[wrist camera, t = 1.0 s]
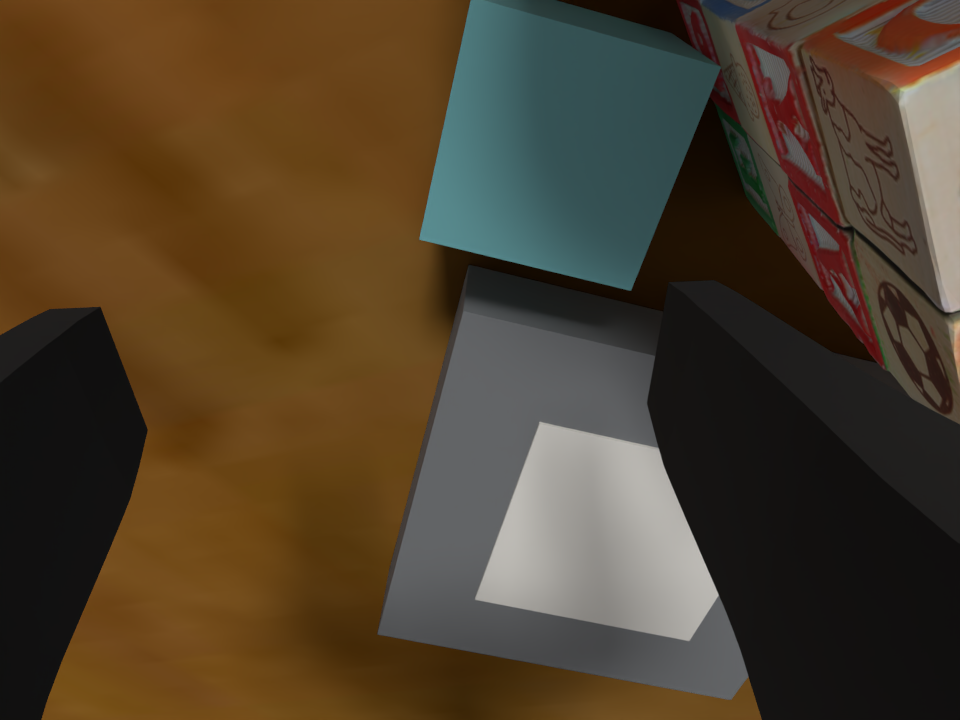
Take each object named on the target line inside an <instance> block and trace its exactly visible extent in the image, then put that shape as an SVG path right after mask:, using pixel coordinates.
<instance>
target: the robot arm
mask: <svg viewBox="0 0 960 720" xmlns="http://www.w3.org/2000/svg"><path fill="white" fill-rule="evenodd" d="M647 406H648V410H649V413H650V417H651V421H652V425H653V429H654V433H655V437H656V441H657V444H658V448H659V451H660V455H661V458H662V462H663V465H664V468H665V470H666V473H667V475H668V478H669V480H670V483H671V485H672V487H673V490H674V492H675V494H676V497H677V499H678V502H679V504H680V506H681V509H682V511H683V513H684V516H685V518H686V520H687V523H688V525H689V527H690V530H691V532H692V534H693V537H694V539H695V541H696V544H697V546H698V548H699V551H700V553H701V555H702V557H703V560H704V562H705V564H706V567H707V569H708V571H709V574H710V576H711V578H712V581H713V583H714V585H715V588H716V590H717V592H718V595H719V597H720V599H721V602H722V604H723V606H724V608H725V611H726V613H727V616H728V619H729V621H730V624H731V626H732V629H733V632H734V634H735V637H736V640H737V642H738V645H739V648H740V651H741V654H742V657H743V660H744V663H745V667H746V670H747V673H748V676H749V679H750V683H751V686H752V689H753V692H754V695H755V699H756V702H757V705H758V708H759V711H760V715H761V718H762V720H960V424H958V423H956V422H954V421H952V420H951V419H949V418H947V417H945V416H943V415H941V414H939V413H937V412H935V411H933V410H931V409H930V408H928V407H926V406H924V405H922V404H921V403H919V402H917V401H915V400H913V399H912V398H910V397H908V396H906V395H904V394H903V393H901V392H899V391H897V390H895V389H894V388H892V387H890V386H888V385H886V384H885V383H883V382H881V381H879V380H878V379H876V378H874V377H873V376H871V375H869V374H868V373H866V372H864V371H862V370H861V369H859V368H857V367H856V366H854V365H852V364H851V363H849V362H847V361H846V360H844V359H842V358H841V357H839V356H838V355H836V354H834V353H833V352H831V351H829V350H828V349H826V348H825V347H823V346H821V345H820V344H818V343H817V342H815V341H813V340H812V339H810V338H809V337H807V336H806V335H804V334H802V333H801V332H799V331H798V330H796V329H795V328H793V327H791V326H790V325H788V324H787V323H785V322H784V321H782V320H780V319H779V318H777V317H776V316H774V315H773V314H771V313H769V312H768V311H766V310H765V309H763V308H762V307H760V306H758V305H757V304H755V303H754V302H752V301H750V300H749V299H747V298H745V297H744V296H742V295H741V294H739V293H737V292H735V291H734V290H732V289H730V288H728V287H727V286H725V285H723V284H721V283H719V282H717V281H715V280H709V281H686V282H668V288H667V293H666V299H665V305H664V310H663V316H662V321H661V327H660V332H659V338H658V343H657V349H656V355H655V360H654V366H653V371H652V377H651V382H650V388H649V393H648V399H647ZM146 435H147V427H146V424H145V422H144V419H143V417H142V414H141V411H140V409H139V406H138V404H137V401H136V398H135V396H134V393H133V391H132V388H131V385H130V383H129V380H128V378H127V375H126V372H125V370H124V367H123V365H122V362H121V359H120V357H119V354H118V352H117V349H116V346H115V344H114V341H113V339H112V336H111V333H110V331H109V328H108V326H107V323H106V320H105V318H104V315H103V313H102V310H101V307H90V308H67V309H49V310H47V311H45V312H43V313H41V314H39V315H37V316H35V317H33V318H31V319H29V320H27V321H25V322H23V323H21V324H20V325H18V326H16V327H14V328H12V329H11V330H9V331H7V332H5V333H4V334H2V335H0V720H41V718H42V715H43V712H44V709H45V705H46V702H47V699H48V696H49V694H50V691H51V688H52V686H53V683H54V680H55V678H56V675H57V672H58V670H59V667H60V664H61V662H62V659H63V657H64V655H65V652H66V650H67V648H68V645H69V643H70V640H71V638H72V636H73V633H74V631H75V629H76V626H77V624H78V622H79V619H80V617H81V615H82V612H83V610H84V608H85V605H86V603H87V601H88V598H89V596H90V594H91V591H92V589H93V587H94V584H95V582H96V580H97V577H98V575H99V573H100V570H101V568H102V566H103V563H104V561H105V559H106V556H107V554H108V552H109V549H110V547H111V544H112V542H113V540H114V537H115V535H116V532H117V530H118V527H119V525H120V523H121V520H122V518H123V515H124V513H125V510H126V508H127V505H128V503H129V500H130V498H131V494H132V490H133V487H134V483H135V480H136V476H137V472H138V469H139V465H140V460H141V456H142V452H143V447H144V443H145V439H146Z"/></svg>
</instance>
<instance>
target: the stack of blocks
mask: <svg viewBox="0 0 960 720" xmlns="http://www.w3.org/2000/svg"><path fill="white" fill-rule="evenodd" d="M676 1H677V4H678V7H679V10H680V12H681V15H682V18H683V21H684V24H685V27H686V30H687V33H688V35H689V38H690V41H691V44H692V47H693V48H694V49H696V50H697V51H699V52H700V53H702V54H703V55H704V56H706V57H707V58H709V59H710V60H712V61H713V62H715V63H716V64H718V65H719V66H721V69H720V71H719V74H718V76H717V79H716V81H715V84H714V86H713V89H712V91H711V94H710V97H711V99H712V100H713V101H714V103H715V106H716V109H717V112H718V115H719V118H720V121H721V123H722V126H723V129H724V132H725V135H726V138H727V141H728V144H729V147H730V150H731V153H732V156H733V159H734V162H735V165H736V168H737V170H738V173H739V176H740V179H741V182H742V185H743V188H744V192H745V195H746V197H747V198H748V200H749V201H750V203H751V204H752V206H753V207H754V208H755V209H756V210H757V212H758V213H759V214H760V215H761V217H762V218H763V219H764V220H765V221H766V222H767V223H768V224H769V226H770V227H771V228H772V230H773V231H774V232H775V233H776V234H777V235H778V236H779V237H781V239H782V240H783V241H784V243H785V244H786V245H787V246H788V248H789V249H790V250H791V252H792V253H793V254H794V256H795V257H796V258H797V260H798V261H799V262H800V263H801V265H802V266H803V267H804V269H805V270H806V271H807V272H808V274H809V275H810V276H811V277H812V279H813V280H814V281H815V282H816V284H817V285H818V286H819V288H820V289H822V290H823V291H824V293H825V295H826V297H827V300H828V301H829V302H830V304H831V305H832V306H833V308H834V309H835V310H836V312H837V313H838V314H839V316H840V317H841V318H842V319H843V320H844V321H845V322H846V323H847V324H848V325H849V326H850V328H851V329H852V331H853V332H854V334H855V335H856V337H857V338H858V339H859V340H860V341H861V342H862V343H864V345H865V346H866V348H867V350H868V351H869V353H870V355H871V356H872V357H873V358H874V359H875V360H876V361H877V363H878V364H879V365H880V366H881V367H882V368H883V369H884V370H887V371H889V372H891V374H892V375H893V376H894V377H895V378H896V380H897V381H898V382H899V383H900V385H901V386H902V387H903V388H904V390H905V391H906V392H907V393H908V395H909V396H910V397H911V398H912V399H913V400H915V401H917V402H919V403H921V404H922V405H924V406H926V407H928V408H930V409H931V410H933V411H935V412H937V413H939V414H941V415H943V416H945V417H947V418H949V419H951V420H952V421H954V422H956V423H958V424H960V0H676Z"/></svg>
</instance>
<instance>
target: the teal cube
mask: <svg viewBox="0 0 960 720" xmlns="http://www.w3.org/2000/svg"><path fill="white" fill-rule="evenodd" d="M720 69H721V66H719V65H718V64H716V63H715V62H713V61H712V60H710V59H709V58H707V57H706V56H704V55H703V54H702V53H700V52H699V51H697V50H696V49H694V48H693V47H691V46H690V45H688V44H687V43H685V42H684V41H682V40H681V39H680V38H678V37H677V36H675V35H674V34H672V33H670V32H666V31H663V30H659V29H656V28H652V27H649V26H645V25H642V24H638V23H635V22H631V21H628V20H624V19H620V18H617V17H613V16H610V15H606V14H603V13H599V12H596V11H592V10H589V9H585V8H582V7H578V6H575V5H571V4H567V3H564V2H560V1H557V0H471V1H470V6H469V10H468V15H467V20H466V24H465V29H464V34H463V38H462V43H461V48H460V52H459V57H458V62H457V66H456V71H455V76H454V80H453V85H452V90H451V94H450V99H449V104H448V108H447V113H446V118H445V122H444V127H443V131H442V136H441V141H440V145H439V150H438V155H437V159H436V164H435V169H434V173H433V178H432V183H431V187H430V192H429V197H428V201H427V206H426V211H425V215H424V220H423V225H422V229H421V234H420V239H419V240H423V241H428V242H432V243H436V244H440V245H444V246H448V247H452V248H456V249H460V250H465V251H469V252H473V253H477V254H481V255H485V256H489V257H493V258H498V259H502V260H506V261H510V262H514V263H518V264H522V265H526V266H530V267H535V268H539V269H543V270H547V271H551V272H555V273H559V274H563V275H567V276H572V277H576V278H580V279H584V280H588V281H592V282H596V283H600V284H604V285H609V286H613V287H617V288H621V289H625V290H629V291H631V289H632V287H633V285H634V282H635V280H636V277H637V275H638V272H639V270H640V267H641V265H642V262H643V260H644V257H645V255H646V252H647V250H648V247H649V245H650V242H651V240H652V237H653V235H654V232H655V230H656V227H657V225H658V223H659V220H660V218H661V215H662V213H663V210H664V208H665V205H666V203H667V200H668V198H669V195H670V193H671V190H672V188H673V185H674V183H675V180H676V178H677V175H678V173H679V170H680V168H681V165H682V163H683V160H684V158H685V156H686V153H687V151H688V148H689V146H690V143H691V141H692V138H693V136H694V133H695V131H696V128H697V126H698V123H699V121H700V118H701V116H702V113H703V111H704V108H705V106H706V103H707V101H708V98H709V96H710V94H711V91H712V89H713V86H714V84H715V81H716V79H717V76H718V74H719V71H720Z"/></svg>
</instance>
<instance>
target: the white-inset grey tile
mask: <svg viewBox="0 0 960 720" xmlns="http://www.w3.org/2000/svg"><path fill="white" fill-rule="evenodd" d="M662 316H663V311H659V310H655V309H651V308H646V307H642V306H638V305H634V304H630V303H626V302H622V301H617V300H613V299H609V298H605V297H601V296H597V295H593V294H588V293H584V292H580V291H576V290H572V289H568V288H564V287H559V286H555V285H551V284H547V283H543V282H539V281H535V280H530V279H526V278H522V277H518V276H514V275H510V274H506V273H501V272H497V271H493V270H489V269H485V268H481V267H477V266H472V265H469V266H468V269H467V273H466V277H465V281H464V285H463V289H462V292H461V296H460V300H459V304H458V308H457V312H456V316H455V319H454V323H453V327H452V331H451V335H450V339H449V342H448V346H447V350H446V354H445V358H444V362H443V365H442V369H441V373H440V377H439V381H438V385H437V389H436V392H435V396H434V400H433V404H432V408H431V412H430V415H429V419H428V423H427V427H426V431H425V435H424V439H423V442H422V446H421V450H420V454H419V458H418V462H417V465H416V469H415V473H414V477H413V481H412V485H411V489H410V492H409V496H408V500H407V504H406V508H405V512H404V515H403V519H402V523H401V527H400V531H399V535H398V539H397V542H396V546H395V550H394V554H393V558H392V562H391V565H390V569H389V574H388V579H387V585H386V590H385V596H384V601H383V607H382V612H381V618H380V623H379V629H378V635H383V636H389V637H394V638H400V639H405V640H410V641H416V642H421V643H426V644H432V645H437V646H443V647H448V648H453V649H459V650H464V651H470V652H475V653H480V654H486V655H491V656H497V657H502V658H507V659H513V660H518V661H523V662H529V663H534V664H540V665H545V666H550V667H556V668H561V669H567V670H572V671H577V672H583V673H588V674H594V675H599V676H604V677H610V678H615V679H620V680H626V681H631V682H637V683H642V684H647V685H653V686H658V687H664V688H669V689H674V690H680V691H685V692H691V693H696V694H701V695H707V696H712V697H717V698H723V699H728V700H731V699H732V698H733V696H734V695H735V694H736V692H737V691H738V690H739V688H740V687H741V686H742V684H743V683H744V682H745V680H746V679H747V678H748V673H747V670H746V667H745V663H744V660H743V657H742V654H741V651H740V648H739V645H738V642H737V640H736V637H735V634H734V632H733V629H732V626H731V624H730V621H729V619H728V616H727V613H726V611H725V608H724V606H723V604H722V602H721V599H720V597H719V595H718V592H717V590H716V588H715V585H714V583H713V581H712V578H711V576H710V574H709V571H708V569H707V567H706V564H705V562H704V560H703V557H702V555H701V553H700V551H699V548H698V546H697V544H696V541H695V539H694V537H693V534H692V532H691V530H690V527H689V525H688V523H687V520H686V518H685V516H684V513H683V511H682V509H681V506H680V504H679V502H678V499H677V497H676V494H675V492H674V490H673V487H672V485H671V483H670V480H669V478H668V475H667V473H666V470H665V468H664V465H663V462H662V458H661V455H660V451H659V448H658V444H657V441H656V437H655V433H654V429H653V425H652V421H651V417H650V413H649V410H648V406H647V399H648V393H649V388H650V382H651V377H652V371H653V366H654V360H655V355H656V349H657V343H658V338H659V332H660V327H661V321H662ZM834 354H836V355H838V356H839V357H841V358H842V359H844V360H846V361H847V362H849V363H851V364H852V365H854V366H856V367H857V368H859V369H861V370H862V371H864V372H866V373H868V374H869V375H871V376H873V377H874V378H876V379H878V380H879V381H881V382H883V383H885V384H886V385H888V386H890V387H892V388H894V389H895V390H897V391H899V392H901V393H903V394H904V395H906V396H908V397H910V396H909V395H908V393H907V392H906V391H905V390H904V388H903V387H902V386H901V385H900V383H899V382H898V381H897V380H896V378H895V377H894V376H893V375H892V374H891V372H889V371H887V370H884V369H883V368H882V367H881V366H880V365H879V364H878V363H874V362H870V361H866V360H862V359H858V358H854V357H850V356H845V355H841V354H837V353H834ZM910 398H911V397H910Z"/></svg>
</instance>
